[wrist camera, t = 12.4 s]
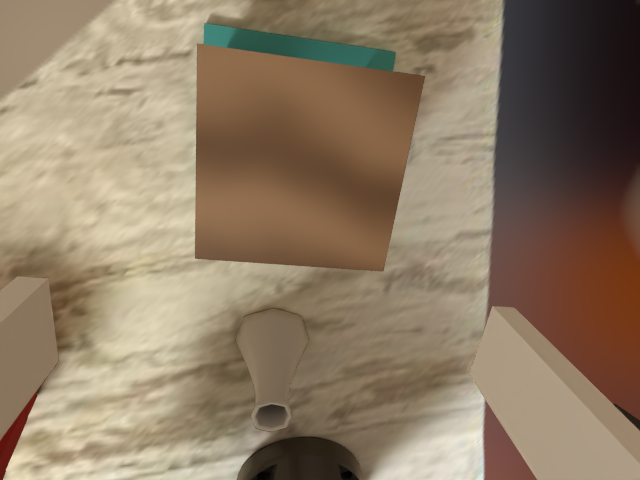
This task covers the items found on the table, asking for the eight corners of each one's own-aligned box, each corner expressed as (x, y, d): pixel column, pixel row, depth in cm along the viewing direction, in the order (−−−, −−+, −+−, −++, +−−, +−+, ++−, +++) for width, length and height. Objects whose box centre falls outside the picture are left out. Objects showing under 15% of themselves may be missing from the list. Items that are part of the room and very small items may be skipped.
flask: (235, 306, 39) (222, 382, 30) (310, 306, 39) (321, 379, 30) (236, 366, 41) (225, 452, 32) (306, 365, 42) (315, 448, 33)
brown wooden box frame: (350, 207, 35) (383, 271, 24) (220, 196, 33) (195, 258, 23) (372, 71, 31) (424, 76, 20) (225, 50, 29) (197, 43, 19)
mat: (362, 222, 36) (364, 224, 36) (202, 208, 34) (201, 211, 34) (393, 52, 31) (395, 52, 30) (205, 23, 29) (204, 23, 28)
